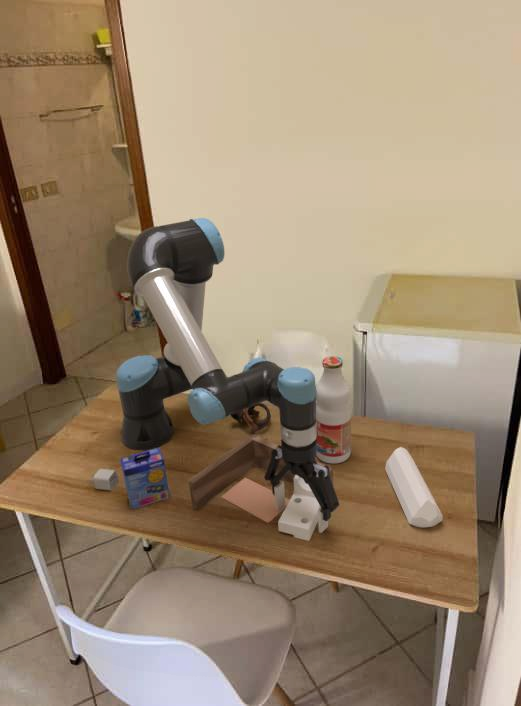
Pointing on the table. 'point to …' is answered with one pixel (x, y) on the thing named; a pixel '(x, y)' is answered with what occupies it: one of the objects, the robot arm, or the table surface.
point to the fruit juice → (333, 413)
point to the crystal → (412, 490)
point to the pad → (254, 499)
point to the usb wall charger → (105, 479)
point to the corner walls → (235, 469)
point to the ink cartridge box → (145, 478)
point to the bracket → (300, 512)
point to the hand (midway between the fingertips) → (301, 517)
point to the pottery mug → (251, 412)
